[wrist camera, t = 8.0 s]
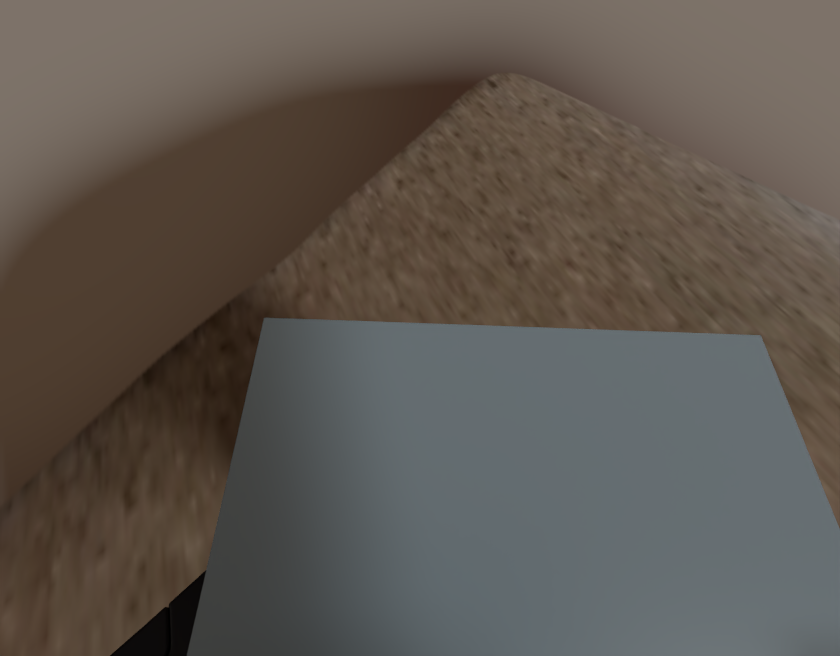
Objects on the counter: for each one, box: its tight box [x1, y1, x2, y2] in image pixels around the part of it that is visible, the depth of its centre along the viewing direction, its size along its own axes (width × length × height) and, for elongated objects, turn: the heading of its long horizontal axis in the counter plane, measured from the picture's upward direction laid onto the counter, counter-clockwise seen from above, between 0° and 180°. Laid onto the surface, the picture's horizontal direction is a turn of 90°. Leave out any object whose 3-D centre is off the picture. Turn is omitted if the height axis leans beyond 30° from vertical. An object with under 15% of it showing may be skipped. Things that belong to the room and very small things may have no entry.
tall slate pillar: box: [187, 318, 840, 656], centre depth 9 cm, size 6×6×12 cm
